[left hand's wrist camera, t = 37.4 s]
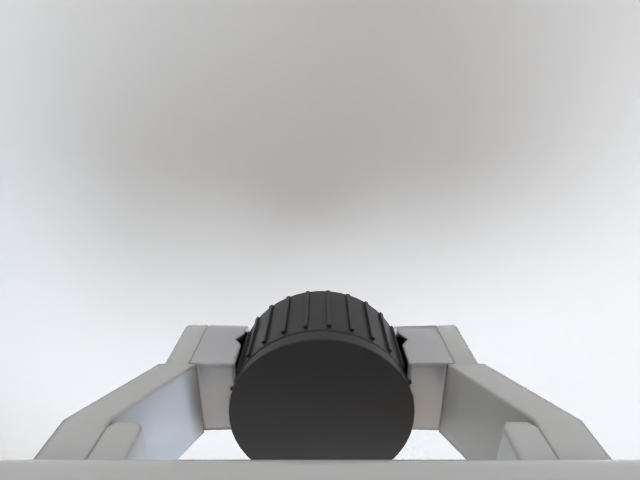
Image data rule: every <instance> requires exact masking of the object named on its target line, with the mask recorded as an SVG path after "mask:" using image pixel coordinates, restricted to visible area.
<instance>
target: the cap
mask: <svg viewBox="0 0 640 480" xmlns="http://www.w3.org/2000/svg"><path fill="white" fill-rule="evenodd" d="M404 367H405V365H404V362H403V358H402V352H401V351H400V348H399V345H398V341H397V338H396V335H395V331H394V328H393V326H389V324H388V323H387V321H386V320H385V319H384V317H383V314H382V313H381V312H380V313H378V312H377V311H376V310H375V309H374V308H372V307H371V306H370V305H368V303H367V302H366V301H365V302H363V301H361V300H359V299H357V298H354V297H352V296H350V295H349V294H346V295H345V294H342V293H337V292H330V291H315V292H309V291H307V292H306V293H301V294H297V295H294V296H291V297H290V296H288V297H286V299H284V300H282V301H280V302H278V303H277V304H275V305H274V306H273V305H271V306H269V309H268V310H267V311H266V312H265V313H263V314H262V315H261V317H260V318H259V317H257V318H256V321H255V324H254V326H253V327H252V329H251V331H250V332H249V331H248V332H247V335H246V338H245V341H244V344H243V348H242V351H241V355H240V358H239V362H238V365H237V368H236V371H235V373H237V377H236V380H235V383H234V386H233V387H230V390H231V391H232V394H231V397H230V401H229V421H230V426H231V430H232V432H233V435H234V437H235V440H236V441H237V443H238V444H239V446H240V448H241V449H242V450H243V451H244V453H245V454H246V455H247V456H248V457H249V458H250V459H251V460H392V459H394V458H395V456H396V455H397V454H398V453H399V452H400V451H401V449H402V448H403V447H404V445H405V444H406V442H407V440H408V438H409V436H410V434H411V430H412V427H413V423H414V416H415V408H414V399H413V396H412V392H411V389H410V386H409V385H410V384H412V382H411V380H409V381H408V379H407V376H406V373H405V369H404Z"/></svg>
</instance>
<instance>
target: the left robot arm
mask: <svg viewBox="0 0 640 480" xmlns="http://www.w3.org/2000/svg"><path fill="white" fill-rule="evenodd" d="M248 331H249V327H248V326H220V325H209V326H208V325H189V326H187V327H186V328H185V330H184V332H183V333H182V335H181V337H180V339H179V340H178V342H177V344H176V346H175V348H174V349H173V351H172V353H171V355H170V356H169V358H168V360H167V362H166V364H158V365H157V366H155V367H153V368H152V369H150V370H148V371H146V372H145V373H143V374H141V375H140V376H138V377H136V378H135V379H133V380H131V381H129V382H128V383H126V384H124V385H123V386H121V387H119V388H117V389H116V390H114V391H112V392H111V393H109V394H107V395H106V396H104V397H102V398H100V399H99V400H97V401H95V402H94V403H92V404H90V405H88V406H87V407H85V408H83V409H82V410H80V411H78V412H77V413H75V414H73V415H71V416H70V417H68V418H66V419H65V420H63V421H62V423H61V424H60V425H59V427H58V428H57V429H56V431H55V432H54V433H53V434H52V436H51V437H50V438H49V440H48V441H47V442H46V443H45V445H44V446H43V447H42V449H41V450H40V451H39V453H38V454H37V455H36V456H35V458H34V459H33V460H0V480H640V460H612V459H611V458H610V457H609V455H608V454H607V453H606V451H605V450H604V449H603V448H602V446H601V445H600V444H599V442H598V441H597V440H596V439H595V437H594V436H593V435H592V434H591V432H590V431H589V430H588V428H587V427H586V426H585V425H584V423H583V422H582V421H581V420H579V419H578V418H576V417H574V416H573V415H571V414H569V413H567V412H566V411H564V410H562V409H561V408H559V407H557V406H555V405H554V404H552V403H550V402H549V401H547V400H545V399H543V398H542V397H540V396H538V395H537V394H535V393H533V392H531V391H530V390H528V389H526V388H525V387H523V386H521V385H519V384H518V383H516V382H514V381H513V380H511V379H509V378H507V377H506V376H504V375H502V374H501V373H499V372H497V371H495V370H494V369H492V368H490V367H489V366H487V365H485V364H478V363H477V361H476V359H475V358H474V356H473V354H472V352H471V351H470V349H469V347H468V346H467V344H466V342H465V340H464V339H463V337H462V335H461V334H460V332H459V330H458V328H457V327H456V326H455V325H437V326H401V327H394V331H395V335H396V338H397V341H398V345H399V348H400V351H401V352H402V358H403V362H404V365H405V367H404V369H405V373H406V376H407V379H408V381H409V380H411V382H412V384H410V385H409V386H410V389H411V392H412V396H413V399H414V408H415V416H414V423H413V427H412V429H418V430H439V432H440V433H441V434H442V435H443V436H444V437H445V438H446V439H447V440H448V441H449V442H450V443H451V444H452V445H453V446H454V447H455V448H456V449H457V450H458V451H459V452H460V453H461V454H462V455H463V456H464V457H465V458H466V459H467V460H177V459H178V458H179V457H180V456H181V455H182V454H183V453H184V452H185V451H186V450H187V449H188V448H189V447H190V446H191V445H192V444H193V443H194V442H195V441H196V440H197V439H198V438H199V437H200V436H201V435H202V434H203V433H204V430H225V429H231V426H230V421H229V401H230V397H231V394H232V391H231V390H230V387H233V386H234V383H235V380H236V377H237V373H235V371H236V368H237V365H238V362H239V358H240V355H241V351H242V348H243V344H244V341H245V338H246V335H247V332H248ZM249 332H250V331H249Z"/></svg>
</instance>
